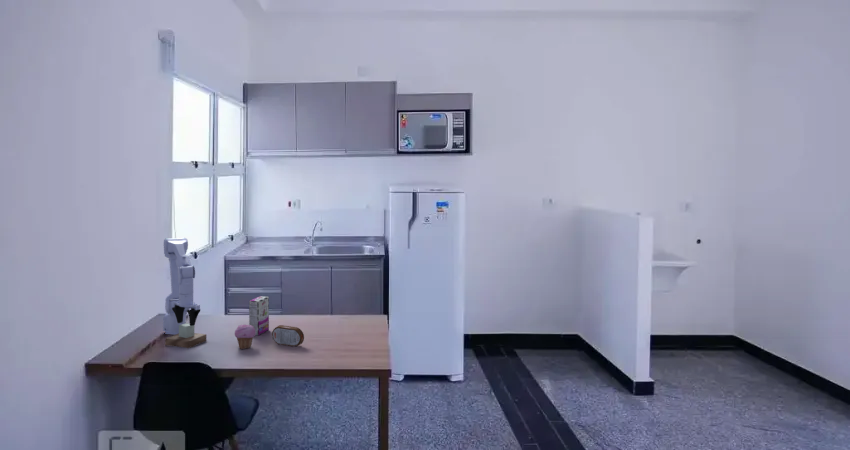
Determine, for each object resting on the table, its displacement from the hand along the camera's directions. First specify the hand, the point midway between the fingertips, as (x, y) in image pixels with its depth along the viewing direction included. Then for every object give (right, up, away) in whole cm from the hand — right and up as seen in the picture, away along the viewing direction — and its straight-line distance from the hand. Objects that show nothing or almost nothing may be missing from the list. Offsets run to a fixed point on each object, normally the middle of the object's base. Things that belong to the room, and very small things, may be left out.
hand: (186, 324), depth 267 cm
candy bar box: (+26, -8, +22) cm, 35 cm away
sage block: (0, -5, +1) cm, 5 cm away
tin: (+44, -10, +3) cm, 45 cm away
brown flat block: (0, -8, +1) cm, 8 cm away
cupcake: (+27, -10, -3) cm, 29 cm away
